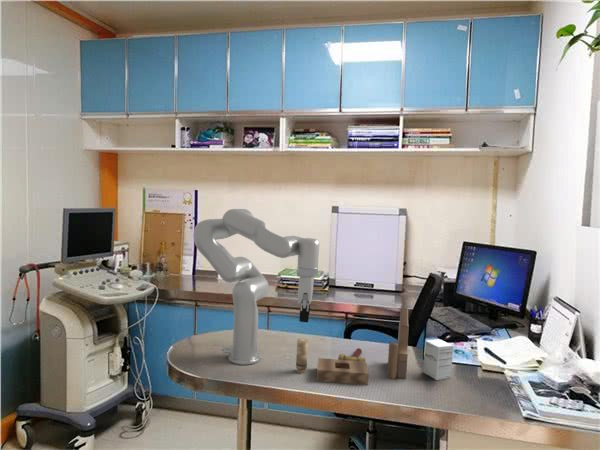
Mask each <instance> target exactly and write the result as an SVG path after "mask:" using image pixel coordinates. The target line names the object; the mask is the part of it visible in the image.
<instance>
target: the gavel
mask: <svg viewBox="0 0 600 450" xmlns="http://www.w3.org/2000/svg"><path fill="white" fill-rule="evenodd" d="M360 355H362V348H360V347H359V348H358V347H357V348H356V349H355V351H354V352H353V354H352V355H350V356H349V355H346V354H343V353H339V354H338V356H337V357H338V358H337V360H350V361H364V362H366V358H365V357H362V356H360Z"/></svg>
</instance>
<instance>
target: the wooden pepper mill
mask: <svg viewBox="0 0 600 450" xmlns="http://www.w3.org/2000/svg"><path fill="white" fill-rule="evenodd" d="M308 347H309V339H308V338H305V337H304V338H303V337H301V338H297V340H296V359H295V368H296V372H297V373H298V374H305V373H306V369H307V368H308V350H309V349H308Z"/></svg>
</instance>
